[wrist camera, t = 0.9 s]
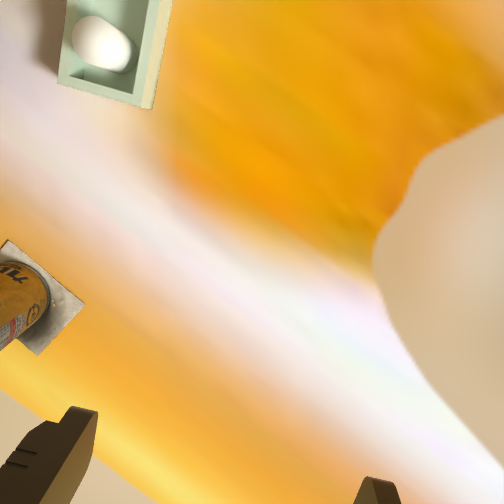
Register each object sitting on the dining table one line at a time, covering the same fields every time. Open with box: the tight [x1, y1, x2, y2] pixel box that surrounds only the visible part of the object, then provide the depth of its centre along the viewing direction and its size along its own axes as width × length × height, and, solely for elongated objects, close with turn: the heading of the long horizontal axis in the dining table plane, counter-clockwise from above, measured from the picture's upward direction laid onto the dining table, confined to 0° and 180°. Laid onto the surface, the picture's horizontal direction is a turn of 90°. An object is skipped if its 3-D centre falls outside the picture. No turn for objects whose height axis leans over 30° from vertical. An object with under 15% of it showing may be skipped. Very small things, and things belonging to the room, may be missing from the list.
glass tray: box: [57, 0, 173, 109], centre depth 27 cm, size 12×6×5 cm, turn 165°
